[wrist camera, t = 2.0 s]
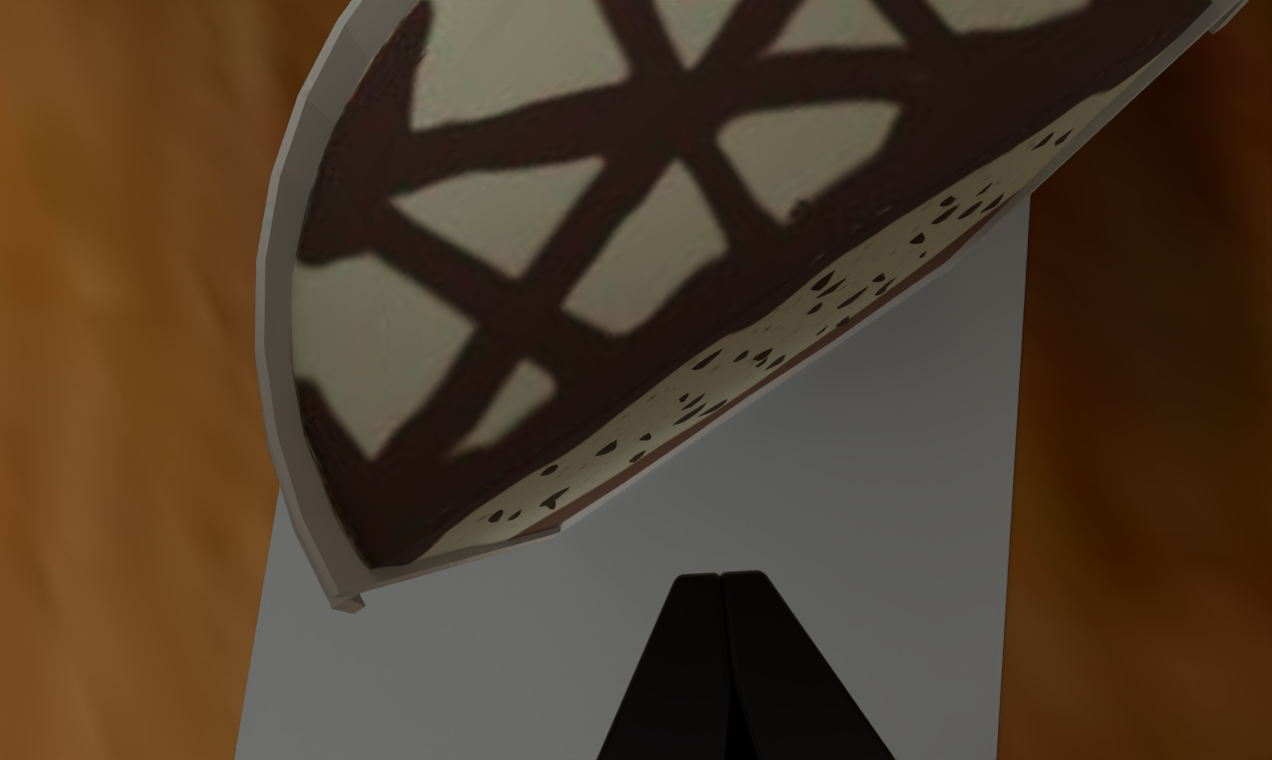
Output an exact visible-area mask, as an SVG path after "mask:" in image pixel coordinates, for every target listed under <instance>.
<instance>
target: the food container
mask: <svg viewBox="0 0 1272 760" xmlns="http://www.w3.org/2000/svg"><path fill="white" fill-rule="evenodd" d="M1247 2H1248V0H352V1H351V2H350V4H349V5H348V6H347V8H346V9H345V10H344V12H343V13H342V15H341V16H340V17H339V19H338V20H337V22H336V24H335V26H334V28H333V29H332V31H331V33H330V35H329V37H328V39H327V41H326V43H325V45H324V47H323V49H322V50H321V52H320V54H319V56H318V58H317V60H316V62H315V64H314V66H313V68H312V70H311V72H310V73H309V75H308V77H307V79H306V81H305V83H304V85H303V87H302V89H301V91H300V93H299V95H298V97H297V100H296V103H295V106H294V109H293V112H292V115H291V118H290V121H289V124H288V127H287V130H286V133H285V136H284V138H283V141H282V144H281V147H280V150H279V153H278V156H277V159H276V162H275V165H274V168H273V171H272V174H271V178H270V184H269V190H268V195H267V201H266V207H265V213H264V219H263V224H262V230H261V236H260V242H259V247H258V253H257V259H256V317H255V362H256V369H257V376H258V383H259V390H260V397H261V404H262V411H263V418H264V425H265V432H266V439H267V446H268V449H269V452H270V455H271V458H272V462H273V465H274V468H275V471H276V475H277V478H278V481H279V484H280V487H281V491H282V494H283V497H284V500H285V504H286V507H287V510H288V513H289V517H290V520H291V523H292V526H293V529H294V532H295V534H296V536H297V538H298V540H299V542H300V544H301V546H302V548H303V550H304V552H305V554H306V556H307V559H308V561H309V563H310V565H311V567H312V569H313V571H314V573H315V575H316V577H317V579H318V581H319V583H320V585H321V587H322V589H323V591H324V593H325V595H326V597H327V599H328V601H329V603H330V606H331V608H332V609H334V610H338V611H342V612H347V613H351V614H355V613H356V612H358V611H360V610H361V609H363V608H364V607H366V606H365V604H364V602H363V600H362V598H361V596H360V593H363V592H367V591H370V590H374V589H377V588H381V587H384V586H388V585H391V584H395V583H398V582H402V581H405V580H409V579H412V578H416V577H419V576H423V575H426V574H430V573H434V572H437V571H441V570H444V569H448V568H451V567H455V566H458V565H462V564H465V563H469V562H472V561H476V560H479V559H483V558H486V557H490V556H493V555H497V554H501V553H504V552H508V551H511V550H515V549H518V548H522V547H525V546H529V545H532V544H536V543H539V542H543V541H546V540H550V539H553V538H554V537H556V536H557V535H559V534H560V533H562V532H563V531H565V530H566V529H568V528H569V527H571V526H572V525H574V524H575V523H576V522H578V521H579V520H581V519H582V518H584V517H585V516H587V515H588V514H590V513H591V512H593V511H594V510H596V509H597V508H599V507H600V506H601V505H603V504H604V503H606V502H607V501H609V500H610V499H612V498H613V497H615V496H616V495H618V494H619V493H621V492H622V491H624V490H625V489H627V488H628V487H629V486H631V485H632V484H634V483H635V482H637V481H638V480H640V479H641V478H643V477H644V476H646V475H647V474H649V473H650V472H652V471H653V470H655V469H656V468H657V467H659V466H660V465H662V464H663V463H665V462H666V461H668V460H669V459H671V458H672V457H674V456H675V455H677V454H678V453H680V452H681V451H683V450H684V449H685V448H687V447H688V446H690V445H691V444H693V443H694V442H696V441H697V440H699V439H700V438H702V437H703V436H705V435H706V434H708V433H709V432H711V431H712V430H713V429H715V428H716V427H718V426H719V425H721V424H722V423H724V422H725V421H727V420H728V419H730V418H731V417H733V416H734V415H736V414H737V413H739V412H740V411H741V410H743V409H744V408H746V407H747V406H749V405H750V404H752V403H753V402H755V401H756V400H758V399H759V398H761V397H762V396H764V395H765V394H766V393H768V392H769V391H771V390H772V389H774V388H775V387H777V386H778V385H780V384H781V383H783V382H784V381H786V380H787V379H789V378H790V377H792V376H793V375H794V374H796V373H797V372H799V371H800V370H802V369H803V368H805V367H806V366H808V365H809V364H811V363H812V362H814V361H815V360H817V359H818V358H820V357H821V356H822V355H824V354H825V353H827V352H828V351H830V350H831V349H833V348H834V347H836V346H837V345H839V344H840V343H842V342H843V341H845V340H846V339H848V338H849V337H850V336H852V335H853V334H855V333H856V332H858V331H859V330H861V329H862V328H864V327H865V326H867V325H868V324H870V323H871V322H873V321H874V320H876V319H877V318H878V317H880V316H881V315H883V314H884V313H886V312H887V311H889V310H890V309H892V308H893V307H895V306H896V305H898V304H899V303H901V302H902V301H904V300H905V299H906V298H908V297H909V296H911V295H912V294H914V293H915V292H917V291H918V290H920V289H921V288H923V287H924V286H926V285H927V284H929V283H930V282H931V281H933V280H934V279H936V278H937V277H939V276H940V275H942V274H943V273H945V272H946V271H948V270H949V269H950V268H952V267H953V266H954V265H955V264H956V263H957V262H958V261H959V260H960V259H961V258H962V257H963V256H964V255H966V254H967V253H968V252H969V251H970V250H971V249H972V248H973V247H974V246H975V245H976V244H977V243H979V242H980V241H981V240H982V239H983V238H984V237H985V236H986V235H987V234H988V233H989V232H990V231H991V230H993V229H994V228H995V227H996V226H997V225H998V224H999V223H1000V222H1001V221H1002V220H1003V219H1004V218H1006V217H1007V216H1008V215H1009V214H1010V213H1011V212H1012V211H1013V210H1014V209H1015V208H1016V207H1017V206H1018V205H1020V204H1021V203H1022V202H1023V201H1024V200H1025V199H1026V198H1027V197H1028V196H1029V195H1030V194H1031V193H1033V192H1034V191H1035V190H1036V189H1037V188H1038V187H1039V186H1040V185H1041V184H1042V183H1043V182H1044V181H1045V180H1047V179H1048V178H1049V177H1050V176H1051V175H1052V174H1053V173H1054V172H1055V171H1056V170H1057V169H1058V168H1060V167H1061V166H1062V165H1063V164H1064V163H1065V162H1066V161H1067V160H1068V159H1069V158H1070V157H1071V156H1072V155H1074V154H1075V153H1076V152H1077V151H1078V150H1079V149H1080V148H1081V147H1082V146H1083V145H1084V144H1085V143H1087V142H1088V141H1089V140H1090V139H1091V138H1092V137H1093V136H1094V135H1095V134H1096V133H1097V132H1098V131H1099V130H1101V129H1102V128H1103V127H1104V126H1105V125H1106V124H1107V123H1108V122H1109V121H1110V120H1111V119H1112V118H1114V117H1115V116H1116V115H1117V114H1118V113H1119V112H1120V111H1121V110H1122V109H1123V108H1124V107H1125V106H1126V105H1128V104H1129V103H1130V102H1131V101H1132V100H1133V99H1134V98H1135V97H1136V96H1137V95H1138V94H1139V93H1141V92H1142V91H1143V90H1144V89H1145V88H1146V87H1147V86H1148V85H1149V84H1150V83H1151V82H1152V81H1153V80H1155V79H1156V78H1157V77H1158V76H1159V75H1160V74H1161V73H1162V72H1163V71H1164V70H1165V69H1166V68H1168V67H1169V66H1170V65H1171V64H1172V63H1173V62H1174V61H1175V60H1176V59H1177V58H1178V57H1179V56H1180V55H1182V54H1183V53H1184V52H1185V51H1186V50H1187V49H1188V48H1189V47H1190V46H1191V45H1192V44H1193V43H1195V42H1196V41H1197V40H1198V39H1199V38H1200V37H1201V36H1202V35H1203V34H1204V33H1205V32H1206V31H1207V30H1208V31H1209V32H1210V33H1211V34H1212V35H1213V34H1214V33H1215V32H1217V31H1218V30H1220V29H1221V28H1222V27H1224V26H1225V25H1226V24H1227V23H1228V22H1229V21H1230V20H1231V19H1232V18H1233V17H1234V15H1235V14H1236V13H1237V12H1238V11H1239V10H1240V9H1241V8H1242V7H1243V6H1244V5H1245V4H1246V3H1247Z"/></svg>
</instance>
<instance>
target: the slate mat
mask: <svg viewBox="0 0 1272 760" xmlns="http://www.w3.org/2000/svg"><path fill="white" fill-rule="evenodd" d="M1030 196H1031V194H1030V195H1029V196H1028V197H1027V198H1026V199H1025V200H1024V201H1023V202H1022V203H1021V204H1020V205H1018V206H1017V207H1016V208H1015V209H1014V210H1013V211H1012V212H1011V213H1010V214H1009V215H1008V216H1007V217H1006V218H1004V219H1003V220H1002V221H1001V222H1000V223H999V224H998V225H997V226H996V227H995V228H994V229H993V230H991V231H990V232H989V233H988V234H987V235H986V236H985V237H984V238H983V239H982V240H981V241H980V242H979V243H977V244H976V245H975V246H974V247H973V248H972V249H971V250H970V251H969V252H968V253H967V254H966V255H964V256H963V257H962V258H961V259H960V260H959V261H958V262H957V263H956V264H955V265H954V266H953V267H952V268H950V269H949V270H948V271H946V272H945V273H943V274H942V275H940V276H939V277H937V278H936V279H934V280H933V281H931V282H930V283H929V284H927V285H926V286H924V287H923V288H921V289H920V290H918V291H917V292H915V293H914V294H912V295H911V296H909V297H908V298H906V299H905V300H904V301H902V302H901V303H899V304H898V305H896V306H895V307H893V308H892V309H890V310H889V311H887V312H886V313H884V314H883V315H881V316H880V317H878V318H877V319H876V320H874V321H873V322H871V323H870V324H868V325H867V326H865V327H864V328H862V329H861V330H859V331H858V332H856V333H855V334H853V335H852V336H850V337H849V338H848V339H846V340H845V341H843V342H842V343H840V344H839V345H837V346H836V347H834V348H833V349H831V350H830V351H828V352H827V353H825V354H824V355H822V356H821V357H820V358H818V359H817V360H815V361H814V362H812V363H811V364H809V365H808V366H806V367H805V368H803V369H802V370H800V371H799V372H797V373H796V374H794V375H793V376H792V377H790V378H789V379H787V380H786V381H784V382H783V383H781V384H780V385H778V386H777V387H775V388H774V389H772V390H771V391H769V392H768V393H766V394H765V395H764V396H762V397H761V398H759V399H758V400H756V401H755V402H753V403H752V404H750V405H749V406H747V407H746V408H744V409H743V410H741V411H740V412H739V413H737V414H736V415H734V416H733V417H731V418H730V419H728V420H727V421H725V422H724V423H722V424H721V425H719V426H718V427H716V428H715V429H713V430H712V431H711V432H709V433H708V434H706V435H705V436H703V437H702V438H700V439H699V440H697V441H696V442H694V443H693V444H691V445H690V446H688V447H687V448H685V449H684V450H683V451H681V452H680V453H678V454H677V455H675V456H674V457H672V458H671V459H669V460H668V461H666V462H665V463H663V464H662V465H660V466H659V467H657V468H656V469H655V470H653V471H652V472H650V473H649V474H647V475H646V476H644V477H643V478H641V479H640V480H638V481H637V482H635V483H634V484H632V485H631V486H629V487H628V488H627V489H625V490H624V491H622V492H621V493H619V494H618V495H616V496H615V497H613V498H612V499H610V500H609V501H607V502H606V503H604V504H603V505H601V506H600V507H599V508H597V509H596V510H594V511H593V512H591V513H590V514H588V515H587V516H585V517H584V518H582V519H581V520H579V521H578V522H576V523H575V524H574V525H572V526H571V527H569V528H568V529H566V530H565V531H563V532H562V533H560V534H559V535H557V536H556V537H554V538H553V539H550V540H546V541H543V542H539V543H536V544H532V545H529V546H525V547H522V548H518V549H515V550H511V551H508V552H504V553H501V554H497V555H493V556H490V557H486V558H483V559H479V560H476V561H472V562H469V563H465V564H462V565H458V566H455V567H451V568H448V569H444V570H441V571H437V572H434V573H430V574H426V575H423V576H419V577H416V578H412V579H409V580H405V581H402V582H398V583H395V584H391V585H388V586H384V587H381V588H377V589H374V590H370V591H367V592H363V593H360V596H361V598H362V600H363V602H364V604H365V606H366V607H364V608H363V609H361V610H360V611H358V612H356V613H355V614H351V613H347V612H342V611H338V610H334V609H332V608H331V606H330V603H329V601H328V599H327V597H326V595H325V593H324V591H323V589H322V587H321V585H320V583H319V581H318V579H317V577H316V575H315V573H314V571H313V569H312V567H311V565H310V563H309V561H308V559H307V556H306V554H305V552H304V550H303V548H302V546H301V544H300V542H299V540H298V538H297V536H296V534H295V532H294V529H293V526H292V523H291V520H290V517H289V513H288V510H287V507H286V504H285V500H284V497H283V494H282V491H281V487H280V488H279V494H278V500H277V506H276V512H275V518H274V524H273V530H272V536H271V542H270V548H269V554H268V560H267V566H266V572H265V579H264V585H263V591H262V597H261V603H260V609H259V615H258V621H257V627H256V633H255V639H254V645H253V651H252V657H251V663H250V669H249V675H248V681H247V687H246V693H245V699H244V705H243V711H242V717H241V723H240V729H239V735H238V741H237V747H236V753H235V759H234V760H596V759H597V756H598V754H599V752H600V749H601V747H602V745H603V743H604V740H605V738H606V736H607V733H608V731H609V729H610V726H611V724H612V722H613V719H614V717H615V715H616V713H617V710H618V708H619V706H620V703H621V701H622V699H623V696H624V694H625V692H626V690H627V687H628V685H629V683H630V680H631V678H632V676H633V673H634V671H635V669H636V666H637V664H638V662H639V660H640V657H641V655H642V653H643V650H644V648H645V646H646V643H647V641H648V639H649V637H650V634H651V632H652V630H653V627H654V625H655V623H656V620H657V618H658V616H659V613H660V611H661V609H662V607H663V604H664V602H665V600H666V597H667V595H668V593H669V590H670V588H671V586H672V584H673V582H674V580H675V579H676V577H677V576H679V575H681V574H692V573H710V572H714V573H717V574H719V575H721V574H722V573H723V572H729V571H747V570H760V571H762V572H764V573H765V574H766V575H767V576H768V577H769V579H770V580H771V582H772V583H773V584H774V586H775V587H776V589H777V590H778V592H779V593H780V595H781V596H782V597H783V599H784V600H785V602H786V603H787V605H788V606H789V607H790V609H791V610H792V612H793V613H794V615H795V616H796V617H797V619H798V620H799V622H800V623H801V625H802V626H803V627H804V629H805V630H806V632H807V633H808V635H809V636H810V637H811V639H812V640H813V642H814V643H815V645H816V646H817V647H818V649H819V650H820V652H821V653H822V655H823V656H824V657H825V659H826V660H827V662H828V663H829V665H830V666H831V667H832V669H833V670H834V672H835V673H836V675H837V676H838V677H839V679H840V680H841V682H842V683H843V685H844V686H845V688H846V689H847V690H848V692H849V693H850V695H851V696H852V698H853V699H854V700H855V702H856V703H857V705H858V706H859V708H860V709H861V710H862V712H863V713H864V715H865V716H866V718H867V719H868V720H869V722H870V723H871V725H872V726H873V728H874V729H875V730H876V732H877V733H878V735H879V736H880V738H881V739H882V740H883V742H884V743H885V745H886V746H887V748H888V749H889V750H890V752H891V753H892V755H893V756H894V758H895V759H896V760H996V756H997V739H998V723H999V706H1000V690H1001V674H1002V657H1003V641H1004V624H1005V608H1006V591H1007V575H1008V558H1009V542H1010V525H1011V509H1012V493H1013V476H1014V460H1015V443H1016V427H1017V410H1018V394H1019V377H1020V361H1021V345H1022V328H1023V312H1024V295H1025V279H1026V262H1027V246H1028V229H1029V213H1030Z"/></svg>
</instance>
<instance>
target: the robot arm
mask: <svg viewBox="0 0 1272 760" xmlns="http://www.w3.org/2000/svg"><path fill="white" fill-rule="evenodd" d="M596 760H896V759H895V758H894V756H893V755H892V753H891V752H890V750H889V749H888V748H887V746H886V745H885V743H884V742H883V740H882V739H881V738H880V736H879V735H878V733H877V732H876V730H875V729H874V728H873V726H872V725H871V723H870V722H869V720H868V719H867V718H866V716H865V715H864V713H863V712H862V710H861V709H860V708H859V706H858V705H857V703H856V702H855V700H854V699H853V698H852V696H851V695H850V693H849V692H848V690H847V689H846V688H845V686H844V685H843V683H842V682H841V680H840V679H839V677H838V676H837V675H836V673H835V672H834V670H833V669H832V667H831V666H830V665H829V663H828V662H827V660H826V659H825V657H824V656H823V655H822V653H821V652H820V650H819V649H818V647H817V646H816V645H815V643H814V642H813V640H812V639H811V637H810V636H809V635H808V633H807V632H806V630H805V629H804V627H803V626H802V625H801V623H800V622H799V620H798V619H797V617H796V616H795V615H794V613H793V612H792V610H791V609H790V607H789V606H788V605H787V603H786V602H785V600H784V599H783V597H782V596H781V595H780V593H779V592H778V590H777V589H776V587H775V586H774V584H773V583H772V582H771V580H770V579H769V577H768V576H767V575H766V574H765V573H764V572H762V571H760V570H747V571H729V572H723V573H722V574H721V575H719V574H717V573H714V572H710V573H692V574H681V575H679V576H677V577H676V579H675V580H674V582H673V584H672V586H671V588H670V590H669V593H668V595H667V597H666V600H665V602H664V604H663V607H662V609H661V611H660V613H659V616H658V618H657V620H656V623H655V625H654V627H653V630H652V632H651V634H650V637H649V639H648V641H647V643H646V646H645V648H644V650H643V653H642V655H641V657H640V660H639V662H638V664H637V666H636V669H635V671H634V673H633V676H632V678H631V680H630V683H629V685H628V687H627V690H626V692H625V694H624V696H623V699H622V701H621V703H620V706H619V708H618V710H617V713H616V715H615V717H614V719H613V722H612V724H611V726H610V729H609V731H608V733H607V736H606V738H605V740H604V743H603V745H602V747H601V749H600V752H599V754H598V756H597V759H596Z"/></svg>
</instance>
